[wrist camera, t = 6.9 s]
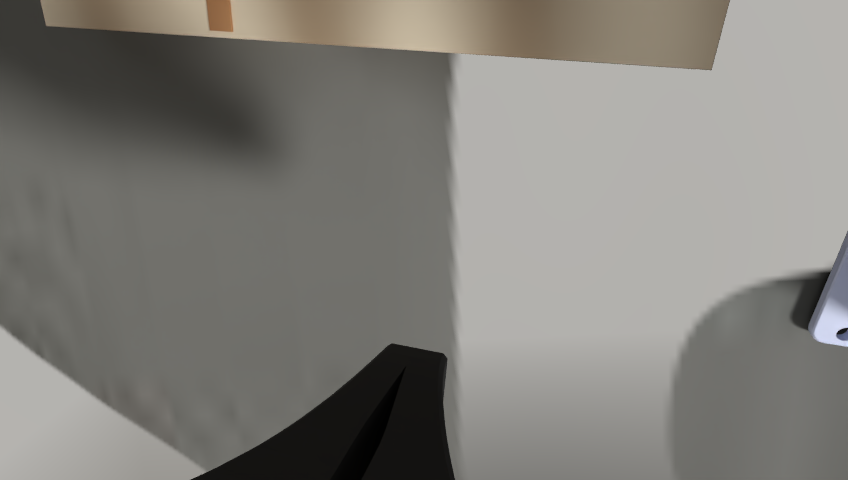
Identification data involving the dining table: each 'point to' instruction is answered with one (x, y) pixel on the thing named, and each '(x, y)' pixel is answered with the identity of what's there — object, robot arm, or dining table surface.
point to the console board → (434, 25)
